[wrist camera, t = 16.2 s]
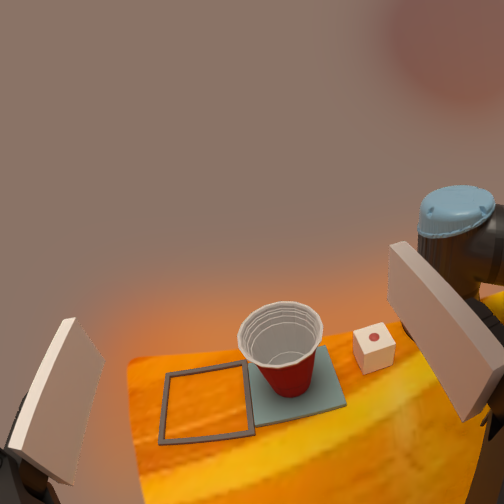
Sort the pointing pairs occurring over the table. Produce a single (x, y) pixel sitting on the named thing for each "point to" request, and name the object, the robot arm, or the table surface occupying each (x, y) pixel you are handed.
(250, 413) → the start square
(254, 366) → the pad
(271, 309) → the plastic cup
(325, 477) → the table surface
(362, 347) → the die
